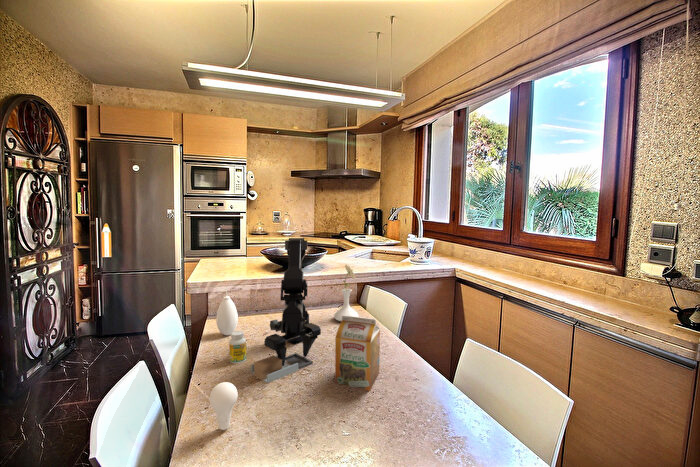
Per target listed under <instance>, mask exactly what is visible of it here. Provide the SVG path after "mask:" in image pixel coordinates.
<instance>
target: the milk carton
mask: <svg viewBox="0 0 700 467" xmlns="http://www.w3.org/2000/svg"><path fill="white" fill-rule="evenodd" d="M334 345H335V349H334V350H335V351H334V352H335V357H334V359H335V361H334V362H335V363H334V364H335V366H334V368H335V370H334V371H335V372H334V376H335V378H334V379H335V380H334V384H338V385H339V386H343V387H349V388H352V389H353V388H354V389H359V390H364V391H369V392H371V389H372V388H373V387H374V385H375V382H376V381H377V379H378V377H379V375H380V357H381V355H380V351H381V348H380V347H381V346H380V345H381V328H380V326H379V325H378V324H377V319H375V318H368V317H361V316H359V317H354V316H346V315H343V316H342V321H340V323H339V326H338V328H337V331H336V335H335V344H334Z"/></svg>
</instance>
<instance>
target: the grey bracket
mask: <svg viewBox="0 0 700 467" xmlns="http://www.w3.org/2000/svg"><path fill="white" fill-rule="evenodd" d="M275 356H276V357H278V356H277V355H275ZM298 371H299V368H298V363H296V364H289V363H287V362H285V364H284V366H282V369H281V370H278V371H276V372H273V373H271V374H268V375H267V379H265V380H263V381H264V382H266V383H267V384H269V383H272V382H273V381H276V380H279V379H282V378H283V377H286V376H288V375H290V374H293V373H295V372H298ZM250 372H251V373H252V374H254V363H252V364H251V365H250Z"/></svg>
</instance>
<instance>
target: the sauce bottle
mask: <svg viewBox="0 0 700 467" xmlns="http://www.w3.org/2000/svg"><path fill="white" fill-rule="evenodd" d="M222 297H223V296H222ZM238 320H239V316H238V310H237V308H236V305H235V302H234V301H233V300H232V299H231V296H229V295H228V290H226V291H225V296H224V297H223V298H222V300H221V302H220V304H219V307H218V309H217V312H216V326H217V329H218V331H219V332H220V333H221V334H222V335H224V336H231V333H232V332H234V331H236V329H237V326H238V323H239V321H238Z"/></svg>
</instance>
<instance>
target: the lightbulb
mask: <svg viewBox="0 0 700 467" xmlns="http://www.w3.org/2000/svg"><path fill="white" fill-rule="evenodd" d="M238 396H239V393H238V390H237V387H236V386H235V385H234V384H233V383H231V382H229V381H228V382H227V381H223V382H220V383H218V384H216V385H215V386H214V387H213V388H212V389H211V391H210V393H209V398H208V399H209V404H210V407H212V410H214V412H215V414H216V420H217V423H218V425H217V426H218V429H219V430H221V431H225V430H227V429H229V428H230V426H231V419H232V412H233V409H234V406H235V405H236V403H237V401H238V398H239V397H238Z"/></svg>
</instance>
